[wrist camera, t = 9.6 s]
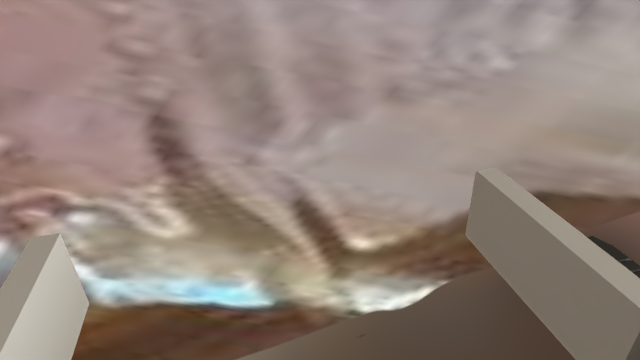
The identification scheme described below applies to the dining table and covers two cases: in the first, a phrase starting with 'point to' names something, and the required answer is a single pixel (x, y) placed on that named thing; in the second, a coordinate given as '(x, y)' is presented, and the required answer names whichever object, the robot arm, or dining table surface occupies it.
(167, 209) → the dining table surface
